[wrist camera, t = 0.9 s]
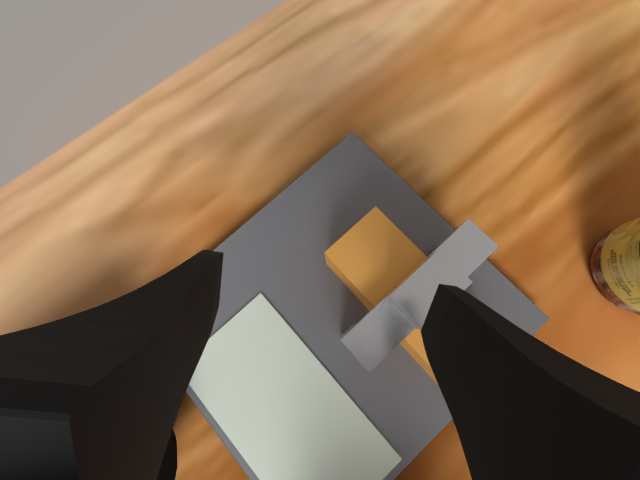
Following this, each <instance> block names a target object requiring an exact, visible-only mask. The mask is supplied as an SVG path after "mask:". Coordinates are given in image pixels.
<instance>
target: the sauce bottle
mask: <svg viewBox="0 0 640 480" xmlns="http://www.w3.org/2000/svg"><path fill="white" fill-rule="evenodd" d="M590 264H591V272H592V276H593V278H594V281H595V282H596V286H597V287H598V288H599V290H600V291H601V293H602V295H603V296H604V297H605V298H606V299H608V300H609V301H611V302H612V303H614V304H615V305H616V306H619V307H621V308H623V309H625V310H627V311H631V312H634V313H636V314H640V217H639V218H637V219H634V220H631V221H629V222H626V223H624V224H622V225H620V226H619V227H617V228H616V229H614V230H612V231H609V232H608V233H606V234H605V235H604V236H603V237H602V239H601V240H600V241H599V242H598V243H597V245H596V247H595V249H594V251H593V253H592V256H591V261H590Z"/></svg>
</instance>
